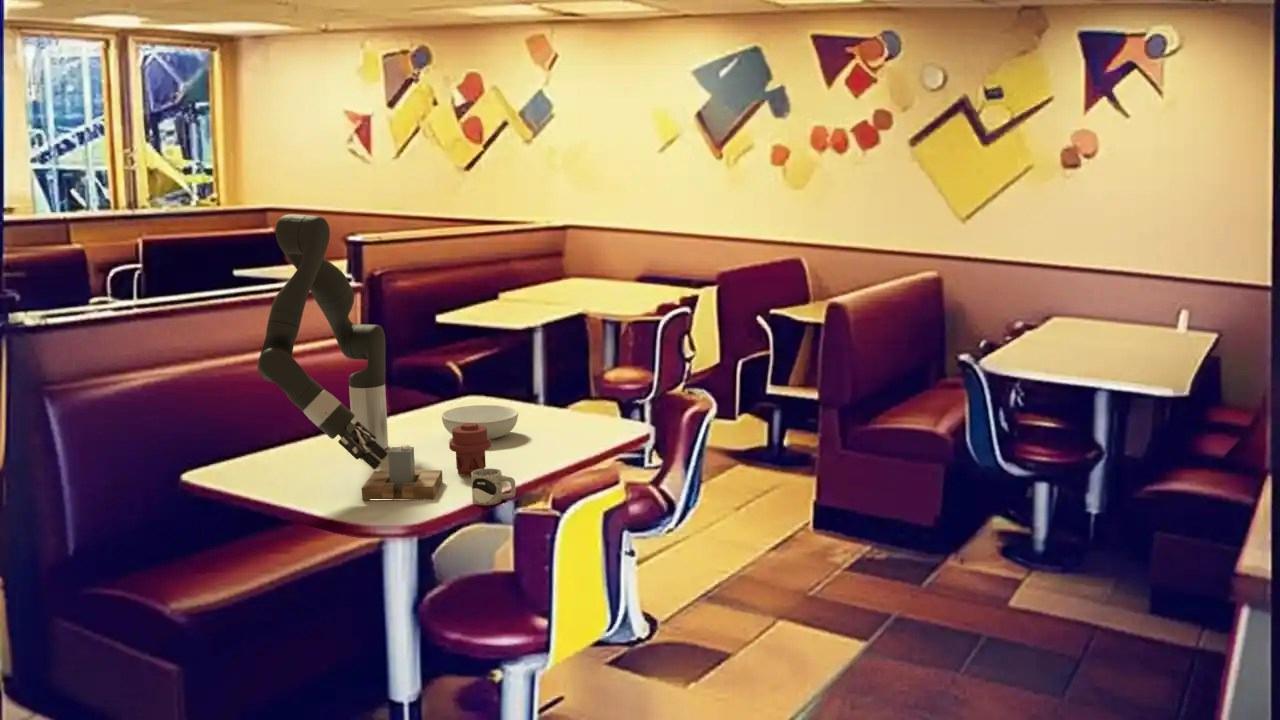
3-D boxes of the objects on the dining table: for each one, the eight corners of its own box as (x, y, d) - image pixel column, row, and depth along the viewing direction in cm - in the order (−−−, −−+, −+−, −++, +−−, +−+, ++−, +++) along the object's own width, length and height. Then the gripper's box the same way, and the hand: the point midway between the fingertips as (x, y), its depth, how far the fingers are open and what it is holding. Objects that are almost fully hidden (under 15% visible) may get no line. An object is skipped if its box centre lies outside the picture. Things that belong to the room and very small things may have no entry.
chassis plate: (374, 483, 278) (374, 471, 277) (442, 482, 278) (441, 470, 278) (362, 500, 264) (361, 487, 264) (433, 499, 265) (432, 486, 264)
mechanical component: (442, 475, 285) (472, 466, 292) (470, 481, 278) (500, 472, 286) (439, 425, 282) (470, 418, 290) (468, 431, 276) (498, 423, 284)
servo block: (394, 486, 273) (391, 443, 272) (415, 486, 273) (413, 443, 272) (390, 492, 269) (387, 448, 267) (412, 491, 269) (409, 448, 267)
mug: (468, 504, 260) (467, 475, 259) (477, 496, 267) (476, 467, 266) (511, 506, 259) (510, 477, 258) (520, 497, 265) (519, 469, 264)
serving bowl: (441, 448, 311) (440, 422, 310) (444, 430, 332) (442, 406, 330) (519, 444, 314) (519, 419, 313) (517, 426, 334) (517, 403, 333)
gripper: (332, 409, 260) (387, 458, 263) (346, 396, 274) (398, 442, 277) (310, 432, 261) (364, 481, 263) (325, 418, 275) (376, 464, 277)
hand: (381, 461), depth 270 cm, fingers open, 8 cm apart
